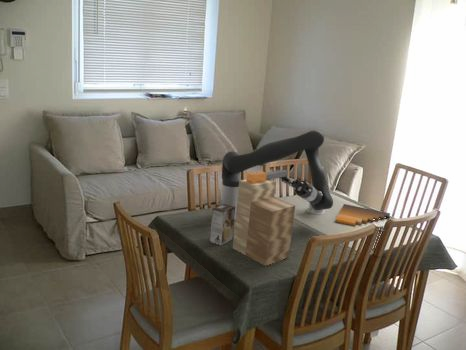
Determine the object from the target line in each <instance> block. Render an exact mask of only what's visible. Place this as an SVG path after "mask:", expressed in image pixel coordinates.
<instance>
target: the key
mask: <svg viewBox="0 0 466 350" xmlns="http://www.w3.org/2000/svg"><path fill="white" fill-rule="evenodd" d="M281 177H288V171H287V170H285V169H281V170H275V171H270V172H265V171H262V170H258V171H251V172H247V174H246V179H247V182H249V183H251V184H255V183H259V182H264V181H266V180H276V179H280V178H281Z"/></svg>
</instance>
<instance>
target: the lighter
mask: <svg viewBox="0 0 466 350" xmlns="http://www.w3.org/2000/svg"><path fill="white" fill-rule="evenodd" d="M378 227H379V228H380V230H379V233H378V236H377V239H376V242H375V245H374V248H373V249H376V248H375V246H376V244H377V241H378V239H379V236H380V234H381V232H382V230H384V229H383V227H384V228H385V226H384V225H381V226H378Z"/></svg>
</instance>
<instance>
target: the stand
mask: <svg viewBox="0 0 466 350" xmlns="http://www.w3.org/2000/svg"><path fill="white" fill-rule="evenodd" d="M276 185H277V181H276V180H275V179H271V180H266V181H264V182H259V183H255V184H251V183H249V182H247V178H246V179H241V180H240V181H239V190H238V200H237V210H236V219H235V220H234V229H233V239H232V240H233V241H232V249H233V250H235V251H237V252H239V253H240V252H241V255H245V256H246V257H248V258H249V257H250V258H249V259H251V258H252V259H251V260H253V259H254V260H253V261H255V260H256V261H255V262H257V261H258V262H260V263H262V264H263V265H262V264H261V265H262V266H264V265H265V266H264V267H267V266H266V265H268V266H270V265H269V264H271V265H273V264H272V263H274V264H276V263H278V262H277V261H279V262H281V261H280V260H282V261H284V260H283V259H285V258H287V259H289V255H290V248H291V240H292V231H293V226H294V218H295V212H296V211H295V210H296V205H295V204H293V203H290V202H288V201H285V200H282V199H281V198H278V197H277V198H276V197H274V195H275V194H276ZM285 260H286V259H285ZM258 262H257V263H258ZM275 262H276V263H275ZM260 263H259V264H260Z"/></svg>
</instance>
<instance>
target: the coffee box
mask: <svg viewBox="0 0 466 350" xmlns="http://www.w3.org/2000/svg"><path fill="white" fill-rule="evenodd" d="M211 212H212V213H211V214H212V215H211V225H210V238H209V240H210V241H211V242H210V241H209V242H210V243H213V244H215V243H216V244H215V245H218V244H219V246H221V245H222V246H223V245H225V244H226V243H229V242H230V241H232V240H233V238H234V227H235V220H234V215H235V207H234V206H231V205H227V204H221V205H219V204H218V205H217V206H215V207H213V208H212V211H211Z"/></svg>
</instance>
